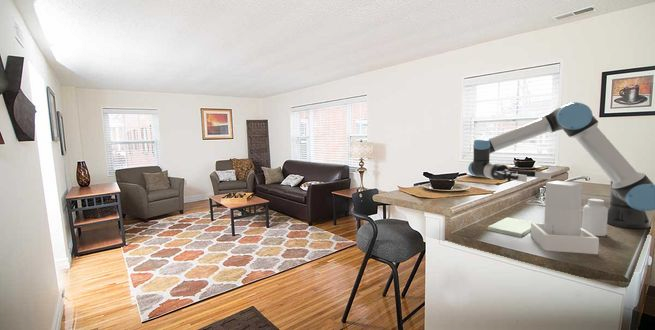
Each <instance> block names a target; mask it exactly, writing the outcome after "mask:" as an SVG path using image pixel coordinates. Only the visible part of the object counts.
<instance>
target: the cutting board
mask: <svg viewBox="0 0 655 330" xmlns="http://www.w3.org/2000/svg"><path fill="white" fill-rule="evenodd" d="M531 223H538V222H537V221H535V222H534V221H529V220H524V219H520V218H514V217H508V216H507V217H505V218H502V219H500V220H499V221H496V222H494V223H493V224H490V225H488V226H487V230H488V231H491V232H497V233H501V234H506V235H510V236H514V237H519V238H522V237H523V236H525V235H527V234H529V233H531Z"/></svg>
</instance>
